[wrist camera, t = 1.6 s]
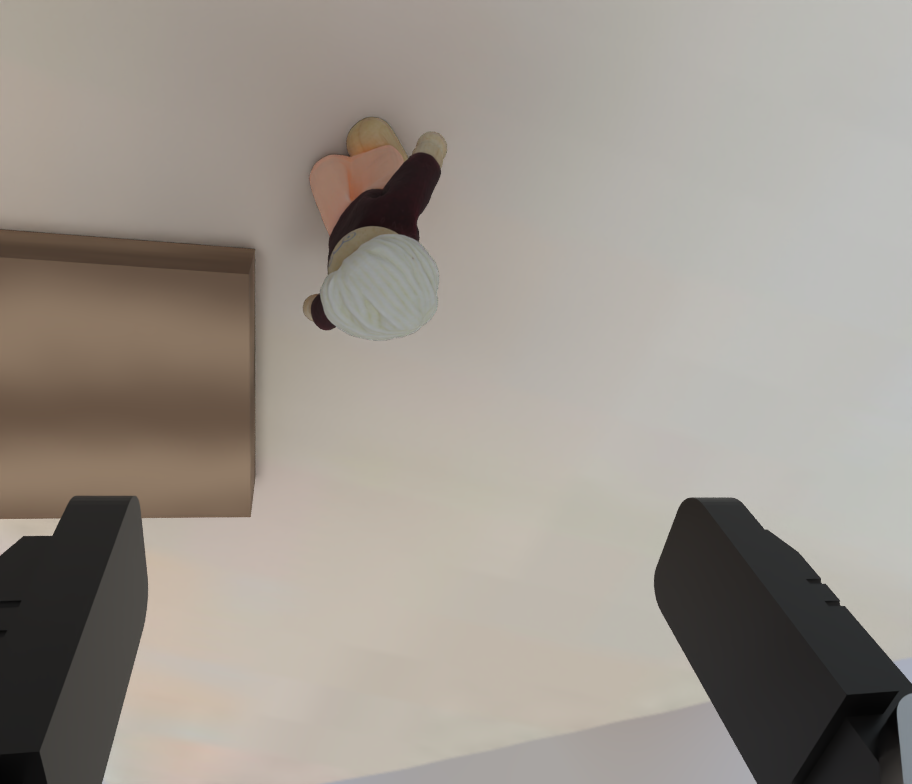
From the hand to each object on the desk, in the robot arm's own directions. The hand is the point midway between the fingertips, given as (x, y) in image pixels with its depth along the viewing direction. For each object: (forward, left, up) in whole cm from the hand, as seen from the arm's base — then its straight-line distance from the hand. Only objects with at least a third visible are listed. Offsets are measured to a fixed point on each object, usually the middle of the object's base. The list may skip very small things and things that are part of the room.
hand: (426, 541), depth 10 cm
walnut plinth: (+9, -10, -21) cm, 25 cm away
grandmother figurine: (0, 0, -22) cm, 22 cm away
